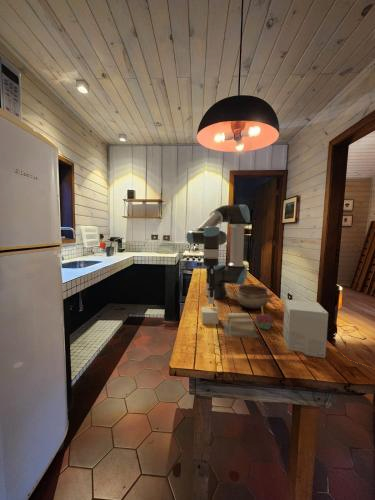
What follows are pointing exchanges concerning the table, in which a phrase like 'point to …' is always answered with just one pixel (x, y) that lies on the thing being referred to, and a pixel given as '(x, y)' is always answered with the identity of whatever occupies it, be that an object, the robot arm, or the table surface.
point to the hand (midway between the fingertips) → (209, 299)
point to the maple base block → (240, 324)
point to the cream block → (209, 315)
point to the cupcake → (264, 320)
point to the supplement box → (305, 327)
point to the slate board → (237, 335)
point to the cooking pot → (252, 296)
